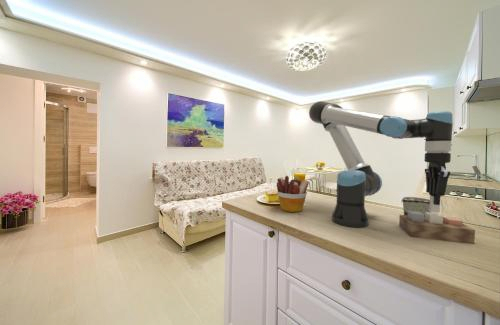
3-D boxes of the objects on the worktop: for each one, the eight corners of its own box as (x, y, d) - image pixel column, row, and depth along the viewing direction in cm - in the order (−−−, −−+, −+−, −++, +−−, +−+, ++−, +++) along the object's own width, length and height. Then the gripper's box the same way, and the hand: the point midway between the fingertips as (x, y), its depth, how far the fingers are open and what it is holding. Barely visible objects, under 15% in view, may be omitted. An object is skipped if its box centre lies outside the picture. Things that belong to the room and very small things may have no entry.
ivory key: (429, 226, 81) (430, 215, 81) (424, 222, 85) (425, 212, 84) (442, 227, 80) (443, 216, 79) (436, 224, 84) (437, 213, 83)
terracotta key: (448, 231, 79) (449, 219, 79) (442, 227, 83) (443, 216, 83) (461, 232, 78) (462, 221, 78) (455, 228, 82) (455, 217, 82)
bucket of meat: (283, 203, 128) (284, 171, 127) (310, 207, 120) (311, 173, 118) (270, 212, 111) (270, 175, 110) (300, 217, 102) (301, 177, 101)
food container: (428, 218, 101) (429, 198, 101) (433, 222, 96) (434, 201, 95) (397, 215, 106) (398, 195, 106) (400, 218, 101) (401, 198, 100)
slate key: (411, 224, 83) (412, 213, 83) (407, 221, 87) (407, 210, 86) (423, 225, 82) (424, 214, 81) (418, 222, 85) (419, 211, 85)
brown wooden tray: (410, 236, 80) (411, 223, 79) (399, 225, 91) (399, 214, 91) (474, 243, 74) (475, 229, 74) (453, 231, 85) (453, 219, 85)
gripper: (460, 152, 73) (456, 218, 75) (439, 152, 86) (436, 208, 87) (434, 152, 75) (431, 216, 77) (418, 152, 88) (415, 207, 89)
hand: (434, 212), depth 82 cm, fingers closed
